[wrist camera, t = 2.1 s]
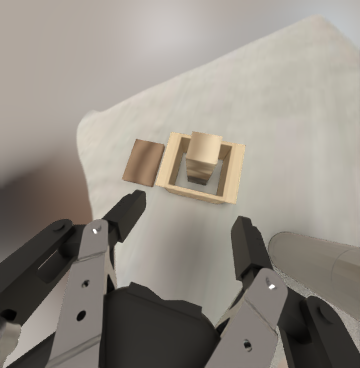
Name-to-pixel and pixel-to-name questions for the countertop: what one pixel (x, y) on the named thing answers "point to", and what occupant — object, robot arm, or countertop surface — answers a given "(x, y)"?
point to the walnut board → (144, 162)
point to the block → (202, 156)
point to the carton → (228, 178)
